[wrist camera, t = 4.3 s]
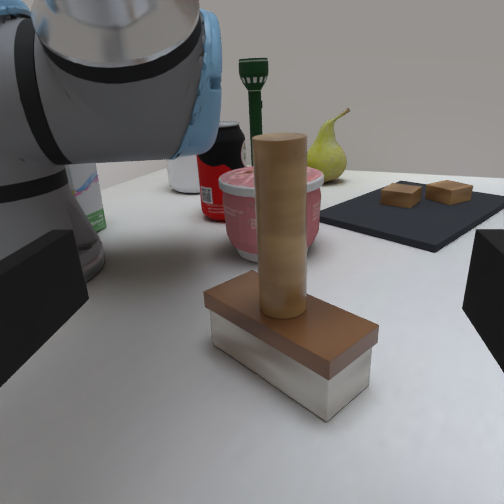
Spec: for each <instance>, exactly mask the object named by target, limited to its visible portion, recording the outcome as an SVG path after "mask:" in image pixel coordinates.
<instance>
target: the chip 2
mask: <svg viewBox="0 0 504 504" xmlns="http://www.w3.org/2000/svg"><path fill="white" fill-rule="evenodd" d="M472 189H473V186H472V185H468V184H463V183H459V182H454V181H449V180H445V181H440V182H436V183H431V184H427V185H426V194H425V199H428V200H432V201H435V202H439V203H443V204H446V205H454V204H458V203H462V202H466V201H470V200H471V195H472Z"/></svg>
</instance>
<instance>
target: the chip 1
mask: <svg viewBox="0 0 504 504" xmlns="http://www.w3.org/2000/svg"><path fill="white" fill-rule="evenodd" d="M421 192H422V186H414V185H405V184H396V183H392V184H390V185H388V186H387V187H385V188H383V189H382V190H381V199H380V204H381V205H388V206H395V207H403V208H410V209H411V208H412V207H413V206H414V205H416V204H417V203H418V202H420V200H421Z"/></svg>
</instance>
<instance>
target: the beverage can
mask: <svg viewBox="0 0 504 504" xmlns="http://www.w3.org/2000/svg"><path fill="white" fill-rule="evenodd" d="M196 157H197V167H198V177H199V187H200V196H201V206H202V211H203V213H204V214H205V215H206V216H208V217H209V218H210V219H212V220H216V221H225V215H224V207H223V199H222V197H223V191H222V190H221V189H220V188H219V177H220V176H221V175H223V174H224V173H226V172H229V171H232V170H235V169H240V168H245V167H247V166H246V148H245V137H244V134H243V133H242V131H241V129H240V127H239V122H237V121H219V128H218V133H217V137H216V140H215V143H214V144H213V146H212V147H211V148H210V149H209V150H208V151H207V152H205V153H203V154H199V155H196Z"/></svg>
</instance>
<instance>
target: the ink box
mask: <svg viewBox="0 0 504 504" xmlns="http://www.w3.org/2000/svg"><path fill="white" fill-rule="evenodd" d="M65 168H66V173H67V177H68V181H69V185H70V189H71V191H72V193H73V195H74V196H75V198H76V200H77V201H78V203H79V205H80V206H81V208H82V210H83V211H84V213H85V215H86V216H87V218H88V220H89V221H90V223H91V225H92V226H93V228H94V229H95V231H96V232H97V231H99V230H101V229H103V228H105V227H106V222H105V216H104V210H103V204H102V198H101V192H100V186H99V180H98V175H97V169H96V163H85V164H69V165H65Z"/></svg>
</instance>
